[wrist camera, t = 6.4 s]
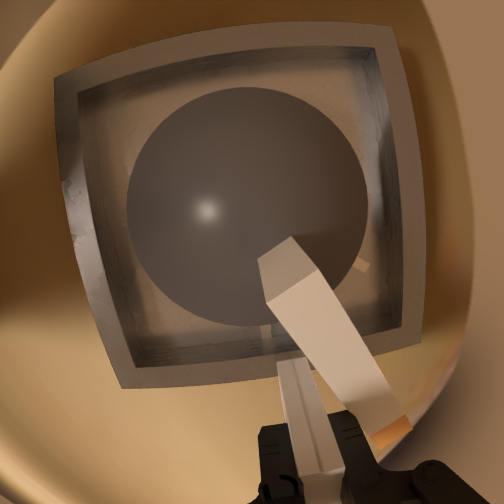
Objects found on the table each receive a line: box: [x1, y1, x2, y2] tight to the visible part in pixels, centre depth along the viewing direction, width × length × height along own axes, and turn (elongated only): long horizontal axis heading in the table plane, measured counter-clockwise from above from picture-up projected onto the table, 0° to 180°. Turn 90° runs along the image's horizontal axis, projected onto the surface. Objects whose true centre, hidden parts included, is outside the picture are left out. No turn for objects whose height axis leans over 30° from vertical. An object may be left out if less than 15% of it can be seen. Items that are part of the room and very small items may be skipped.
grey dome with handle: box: [126, 87, 413, 450], centre depth 13 cm, size 17×11×7 cm, turn 35°
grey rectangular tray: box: [54, 21, 426, 389], centre depth 15 cm, size 20×18×3 cm
